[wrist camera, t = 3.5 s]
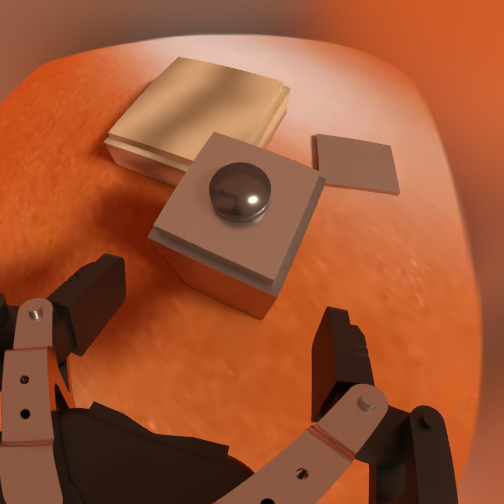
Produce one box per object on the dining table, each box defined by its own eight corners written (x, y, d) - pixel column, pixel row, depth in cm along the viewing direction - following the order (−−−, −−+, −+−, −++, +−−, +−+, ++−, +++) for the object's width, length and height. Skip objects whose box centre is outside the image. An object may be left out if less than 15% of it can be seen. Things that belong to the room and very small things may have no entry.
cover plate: (317, 188, 23) (320, 182, 22) (314, 141, 25) (316, 133, 24) (395, 198, 23) (399, 192, 22) (386, 152, 25) (390, 145, 24)
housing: (187, 285, 20) (135, 223, 10) (223, 217, 22) (209, 114, 12) (262, 320, 19) (282, 290, 9) (294, 248, 21) (335, 160, 11)
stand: (116, 164, 23) (99, 136, 19) (182, 83, 26) (177, 53, 22) (231, 210, 22) (228, 181, 18) (285, 113, 25) (291, 81, 21)
